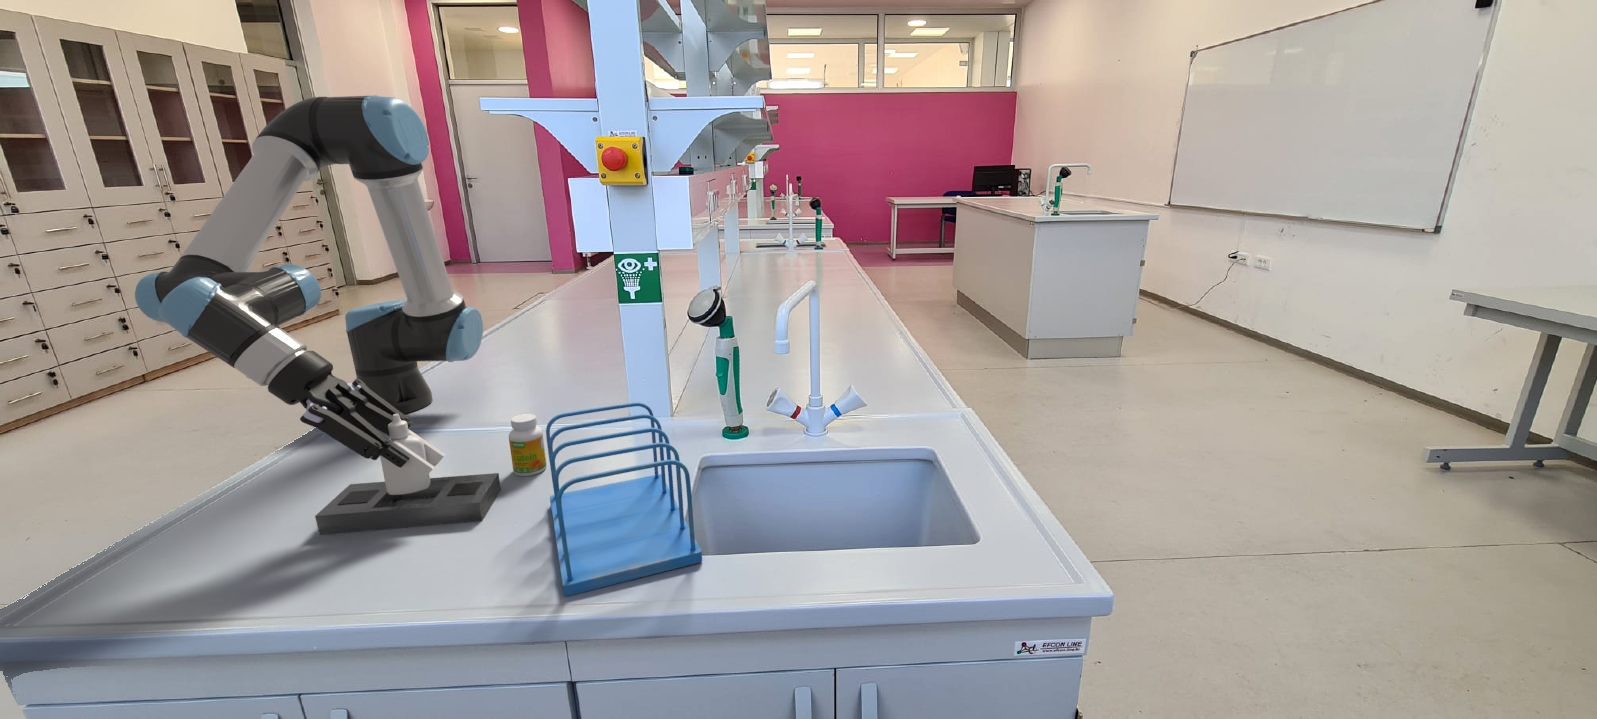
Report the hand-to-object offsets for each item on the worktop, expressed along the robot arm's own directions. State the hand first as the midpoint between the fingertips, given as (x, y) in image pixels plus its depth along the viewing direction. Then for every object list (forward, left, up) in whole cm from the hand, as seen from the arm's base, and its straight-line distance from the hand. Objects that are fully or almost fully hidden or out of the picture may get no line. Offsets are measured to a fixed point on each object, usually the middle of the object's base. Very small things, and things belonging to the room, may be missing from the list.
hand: (433, 467), depth 97 cm
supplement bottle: (-12, +10, -7) cm, 18 cm away
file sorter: (+11, +28, -7) cm, 31 cm away
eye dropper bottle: (0, -4, -3) cm, 5 cm away
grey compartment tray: (0, -4, -7) cm, 8 cm away
